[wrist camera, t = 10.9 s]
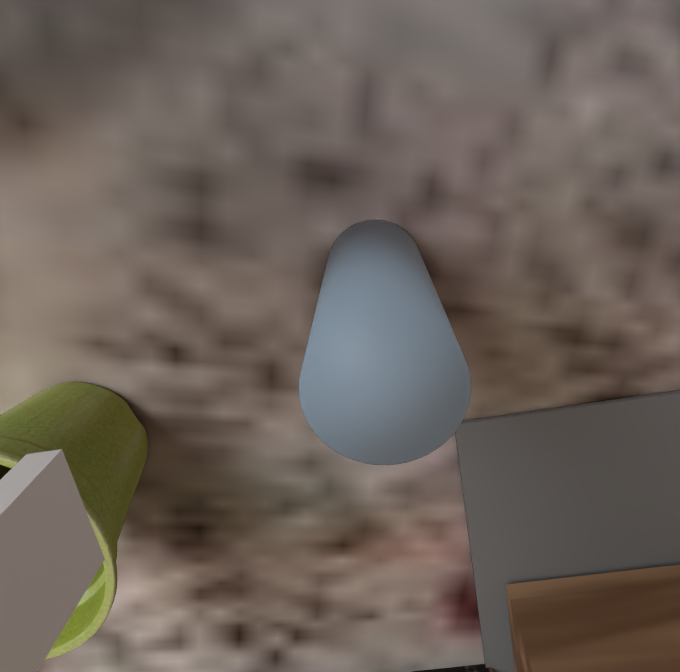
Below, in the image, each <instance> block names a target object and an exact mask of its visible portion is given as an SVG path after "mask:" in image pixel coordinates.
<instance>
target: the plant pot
mask: <svg viewBox="0 0 680 672" xmlns="http://www.w3.org/2000/svg"><path fill="white" fill-rule="evenodd" d="M59 449H62V451H63V453H64V456H65V458H66V461H67V463H68V466H69V469H70V471H71V474H72V476H73V479H74V481H75V484H76V486H77V489H78V492H79V494H80V497H81V499H82V502H83V504H84V507H85V509H86V512H87V514H88V517H89V520H90V522H91V525H92V527H93V530H94V532H95V535H96V537H97V540H98V543H99V545H100V548H101V550H102V553H103V555H104V558H105V560H104V561H103V563H102V565H101V566H100V568H99V570H98V571H97V573H96V575H95V576H94V578H93V580H92V581H91V583H90V585H89V586H88V588H87V590H86V591H85V593H84V595H83V596H82V598H81V600H80V602H79V603H78V605H77V607H76V608H75V610H74V612H73V613H72V615H71V617H70V618H69V620H68V622H67V623H66V625H65V627H64V628H63V630H62V632H61V633H60V635H59V637H58V638H57V640H56V642H55V643H54V645H53V647H52V648H51V650H50V652H49V653H48V655H47V657H46V658H45V659H49V658H53V657H57V656H60V655H62V654H65V653H67V652H69V651H71V650H73V649H75V648H77V647H78V646H80V645H81V644H83V643H85V642H86V641H87V640H89V639H90V638H91V637H92V636H93V635H94V634H95V633H96V632H97V631H98V629H99V628H100V627H101V626H102V624H103V623H104V621H105V620H106V618H107V616H108V614H109V612H110V609H111V607H112V604H113V602H114V598H115V594H116V589H117V566H116V557H117V541H118V538H119V535H120V532H121V529H122V526H123V523H124V520H125V517H126V514H127V511H128V509H129V506H130V503H131V500H132V498H133V495H134V492H135V489H136V487H137V484H138V482H139V479H140V476H141V473H142V471H143V468H144V465H145V462H146V459H147V454H148V439H147V433H146V430H145V428H144V426H143V425H142V424H141V423H140V422H139V421H138V419H137V418H136V416H135V415H134V413H133V412H132V410H131V409H130V407H129V405H128V404H127V402H126V401H125V400H123V399H122V398H121V397H119V396H118V395H116V394H115V393H113V392H111V391H109V390H107V389H105V388H102V387H99V386H96V385H93V384H88V383H81V382H67V383H61V384H58V385H55V386H52V387H50V388H47V389H45V390H42V391H41V392H39V393H37V394H35V395H34V396H32V397H30V398H29V399H27V400H25V401H24V402H22V403H20V404H19V405H17V406H15V407H14V408H12V409H10V410H8V411H7V412H5V413H3V414H2V415H0V480H1V479H2V478H3V477H4V476H5V475H6V474H7V473H8V472H9V471H10V470H11V469H12V468H13V467H14V466H15V465H16V464H17V463H18V462H19V461H20V460H21V459H22V458H23V457H24V456H25V455H26V454H32V453H39V452H46V451H52V450H59Z"/></svg>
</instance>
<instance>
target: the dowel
mask: <svg viewBox="0 0 680 672" xmlns="http://www.w3.org/2000/svg"><path fill="white" fill-rule="evenodd" d="M470 393H471V379H470V374H469V369H468V366H467V363H466V360H465V357H464V355H463V353H462V350H461V348H460V346H459V343H458V341H457V339H456V336H455V334H454V332H453V329H452V327H451V325H450V322H449V320H448V317H447V315H446V313H445V310H444V308H443V306H442V303H441V301H440V299H439V296H438V294H437V292H436V289H435V287H434V285H433V282H432V280H431V278H430V275H429V273H428V271H427V268H426V266H425V263H424V261H423V259H422V256H421V254H420V252H419V249H418V247H417V245H416V243H415V241H414V240H413V239H412V237H411V236H410V235H409V234H408V233H407V232H406V231H405V230H404V229H402V228H401V227H399V226H398V225H395V224H393V223H391V222H387V221H383V220H366V221H362V222H359V223H356V224H354V225H352V226H350V227H349V228H347V229H346V230H345V231H343V232H342V233H341V234H340V235H339V236H338V238H337V239H336V240H335V242H334V244H333V245H332V247H331V250H330V253H329V256H328V260H327V264H326V269H325V273H324V277H323V281H322V285H321V290H320V294H319V298H318V302H317V306H316V311H315V315H314V319H313V323H312V327H311V332H310V336H309V340H308V344H307V348H306V353H305V357H304V361H303V365H302V369H301V374H300V381H299V396H300V403H301V407H302V410H303V413H304V416H305V418H306V420H307V422H308V424H309V425H310V427H311V428H312V430H313V431H314V433H315V434H316V435H317V436H318V437H319V438H320V439H321V440H322V441H323V442H324V443H325V444H326V445H327V446H328V447H330V448H331V449H333V450H334V451H336V452H337V453H339V454H341V455H343V456H345V457H347V458H350V459H352V460H355V461H359V462H362V463H367V464H374V465H394V464H401V463H406V462H410V461H413V460H416V459H419V458H421V457H423V456H425V455H428V454H429V453H431V452H433V451H434V450H436V449H437V448H439V447H440V446H441V445H443V444H444V443H445V442H446V441H447V440H448V439H449V438H450V437H451V436H452V435H453V434H454V432H455V431H456V430H457V428H458V427H459V425H460V424H461V422H462V420H463V418H464V416H465V414H466V411H467V408H468V405H469V401H470Z"/></svg>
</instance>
